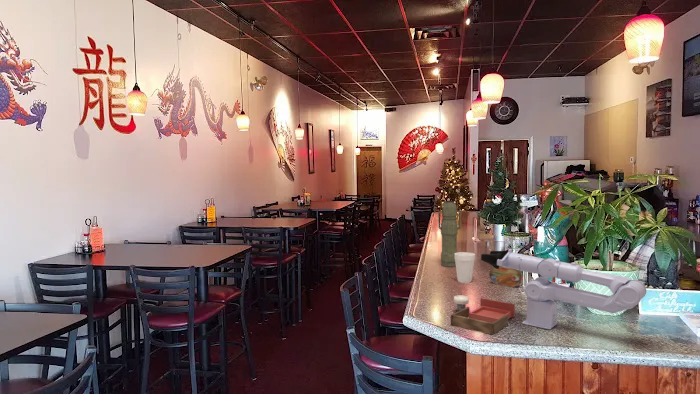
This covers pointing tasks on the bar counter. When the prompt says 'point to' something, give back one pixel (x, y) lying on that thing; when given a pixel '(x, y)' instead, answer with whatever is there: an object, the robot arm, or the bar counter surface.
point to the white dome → (461, 299)
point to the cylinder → (460, 307)
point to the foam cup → (464, 266)
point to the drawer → (492, 310)
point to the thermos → (449, 233)
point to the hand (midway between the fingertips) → (486, 255)
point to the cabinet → (477, 322)
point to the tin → (505, 276)
